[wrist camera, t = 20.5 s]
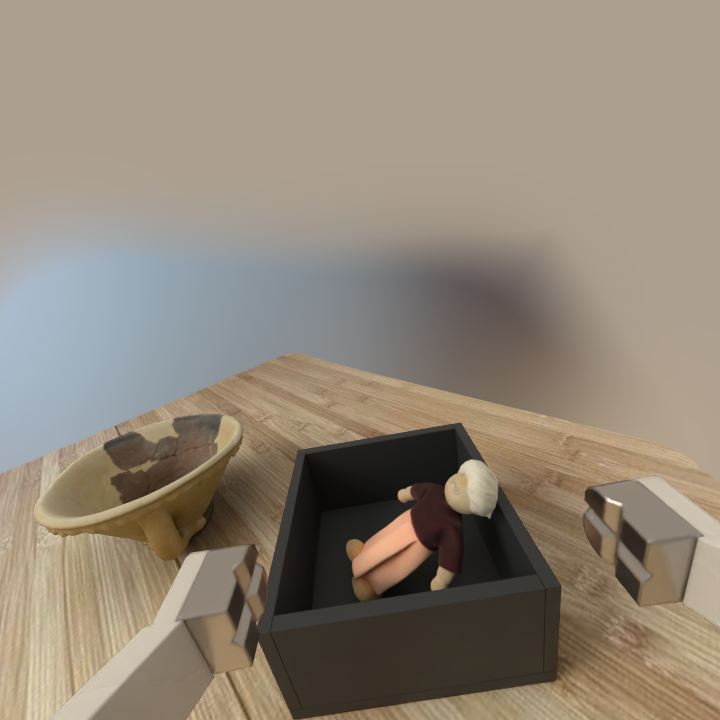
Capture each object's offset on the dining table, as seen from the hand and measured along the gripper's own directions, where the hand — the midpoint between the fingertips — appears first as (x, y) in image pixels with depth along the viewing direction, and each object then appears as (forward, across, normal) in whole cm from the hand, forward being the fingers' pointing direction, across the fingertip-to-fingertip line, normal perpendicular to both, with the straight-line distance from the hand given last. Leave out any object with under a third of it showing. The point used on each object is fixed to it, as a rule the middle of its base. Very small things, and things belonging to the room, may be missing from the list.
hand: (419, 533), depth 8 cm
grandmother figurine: (+11, +4, +17) cm, 21 cm away
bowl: (+23, +24, +19) cm, 38 cm away
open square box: (+13, +1, +19) cm, 23 cm away
